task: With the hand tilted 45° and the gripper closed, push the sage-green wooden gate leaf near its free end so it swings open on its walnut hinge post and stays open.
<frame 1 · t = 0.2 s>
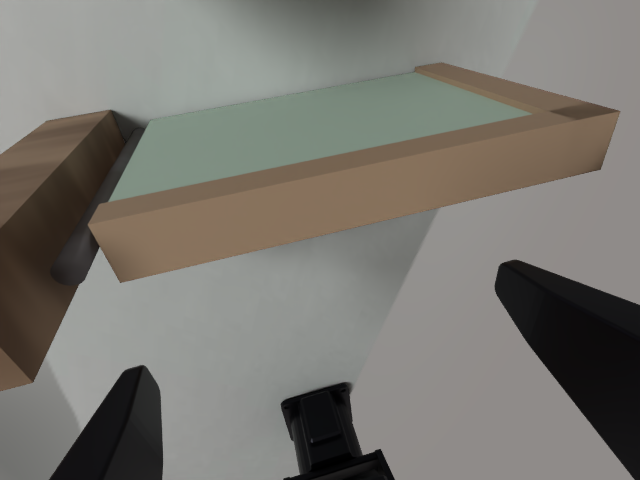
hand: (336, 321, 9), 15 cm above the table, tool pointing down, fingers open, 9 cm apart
gate leaf: (332, 137, 16), point 6 cm above the table, hinge at 0.0°
gate frame: (141, 135, 19), on the table
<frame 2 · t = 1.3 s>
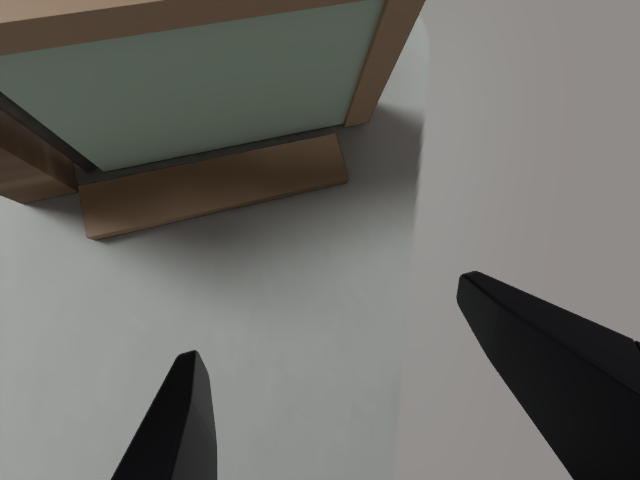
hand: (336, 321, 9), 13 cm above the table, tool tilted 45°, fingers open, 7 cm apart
gate leaf: (226, 76, 17), point 6 cm above the table, hinge at 0.0°
gate frame: (90, 164, 22), on the table
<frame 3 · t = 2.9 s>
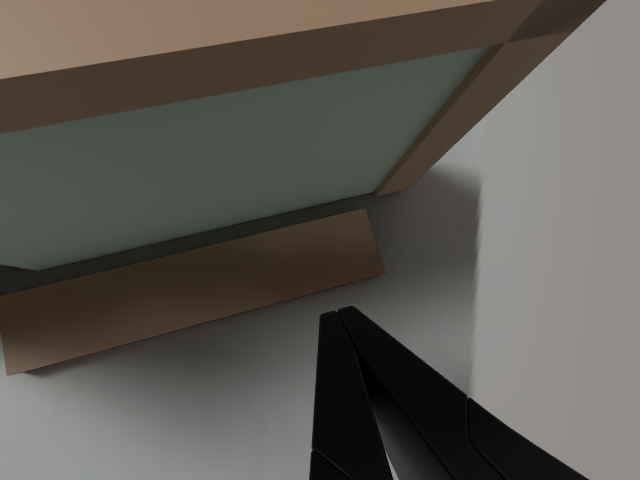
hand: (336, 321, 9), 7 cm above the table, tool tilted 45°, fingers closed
gate leaf: (209, 155, 11), point 6 cm above the table, hinge at 0.0°
gate frame: (19, 258, 15), on the table
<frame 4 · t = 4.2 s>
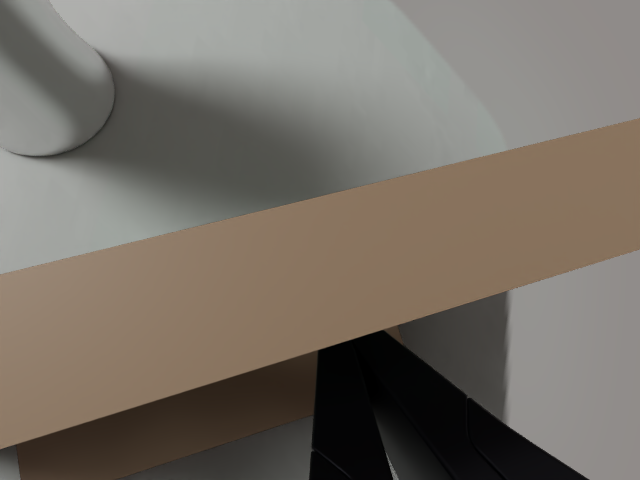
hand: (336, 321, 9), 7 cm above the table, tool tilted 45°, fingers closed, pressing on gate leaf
gate leaf: (242, 308, 10), point 6 cm above the table, hinge at 0.6°, touching gripper
beer glass: (48, 97, 17), on the table
gate frame: (36, 373, 15), on the table
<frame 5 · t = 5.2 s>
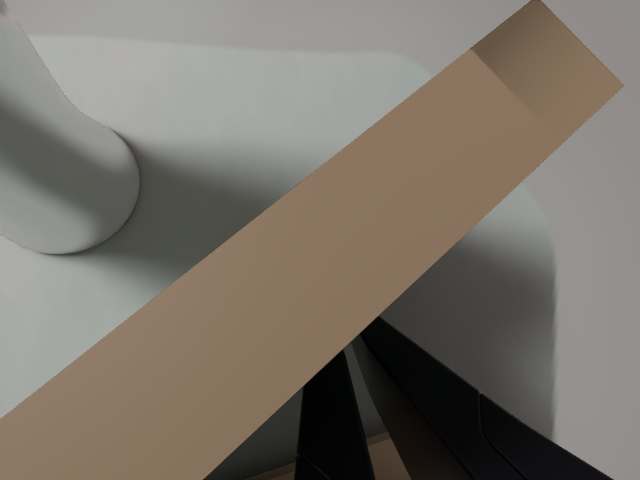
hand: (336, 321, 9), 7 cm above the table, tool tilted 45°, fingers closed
gate leaf: (227, 349, 10), point 6 cm above the table, hinge at 26.0°, touching gripper
beer glass: (70, 186, 16), on the table
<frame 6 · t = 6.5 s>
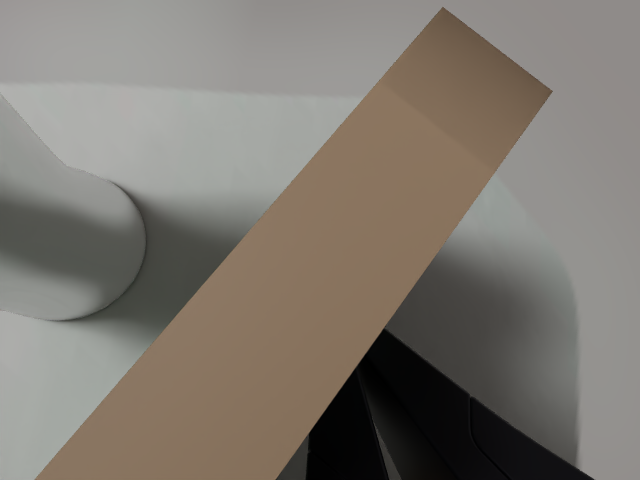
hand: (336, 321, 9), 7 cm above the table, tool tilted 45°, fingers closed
gate leaf: (199, 415, 9), point 6 cm above the table, hinge at 36.6°, touching gripper
beer glass: (72, 245, 15), on the table
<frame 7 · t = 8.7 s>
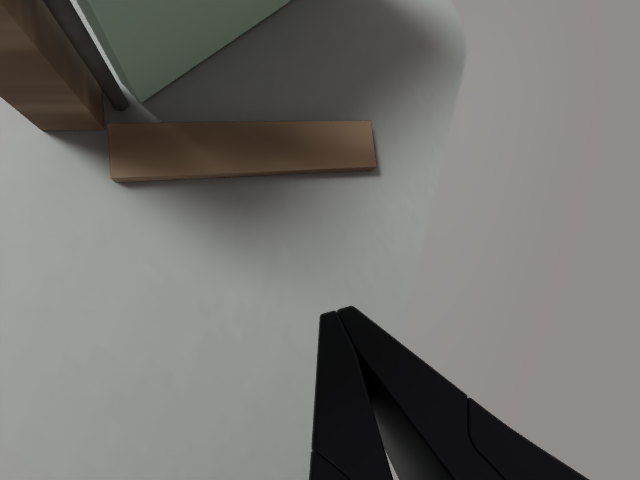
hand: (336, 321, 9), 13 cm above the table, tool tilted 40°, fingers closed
gate frame: (120, 103, 21), on the table
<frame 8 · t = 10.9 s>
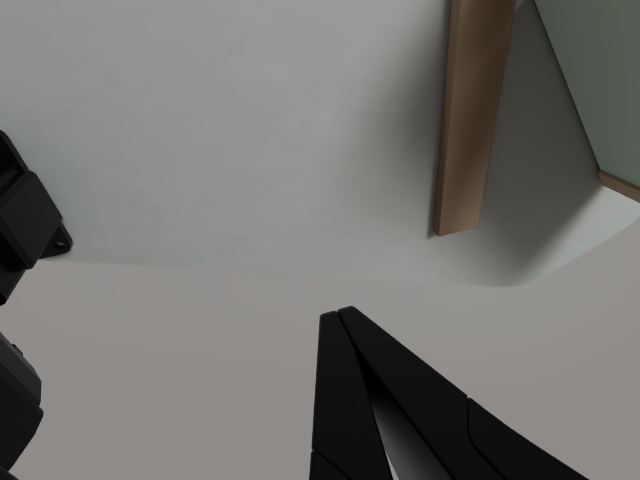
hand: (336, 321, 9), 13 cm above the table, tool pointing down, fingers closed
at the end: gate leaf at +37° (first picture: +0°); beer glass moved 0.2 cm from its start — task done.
